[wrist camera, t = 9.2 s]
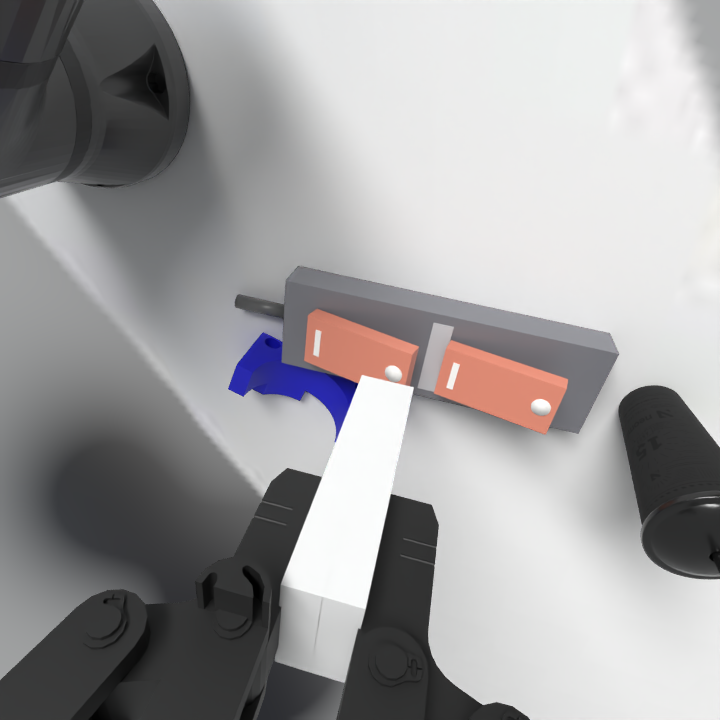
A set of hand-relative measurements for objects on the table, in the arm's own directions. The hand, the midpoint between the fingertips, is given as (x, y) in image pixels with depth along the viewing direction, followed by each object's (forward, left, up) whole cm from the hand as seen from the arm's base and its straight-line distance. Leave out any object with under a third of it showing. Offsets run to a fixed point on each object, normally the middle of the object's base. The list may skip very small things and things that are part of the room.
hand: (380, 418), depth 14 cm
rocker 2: (+13, -5, -22) cm, 26 cm away
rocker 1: (+4, -12, -22) cm, 25 cm away
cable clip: (+5, -21, -27) cm, 34 cm away
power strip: (+7, -10, -26) cm, 29 cm away
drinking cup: (+25, +2, -27) cm, 37 cm away
